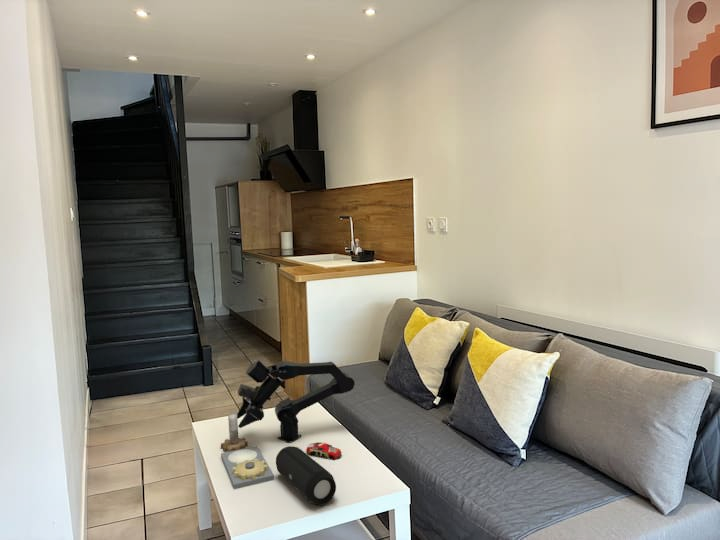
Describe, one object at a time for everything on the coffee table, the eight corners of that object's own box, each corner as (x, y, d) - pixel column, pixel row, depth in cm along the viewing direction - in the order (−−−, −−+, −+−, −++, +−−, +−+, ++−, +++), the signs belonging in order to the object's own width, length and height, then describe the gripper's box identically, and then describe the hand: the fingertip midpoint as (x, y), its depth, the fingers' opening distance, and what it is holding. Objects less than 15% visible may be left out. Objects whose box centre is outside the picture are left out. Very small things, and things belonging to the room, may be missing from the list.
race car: (344, 455, 193) (344, 444, 192) (337, 462, 188) (336, 451, 187) (312, 448, 198) (311, 438, 198) (304, 455, 193) (304, 444, 193)
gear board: (221, 457, 193) (220, 446, 192) (257, 449, 198) (256, 439, 198) (234, 489, 171) (233, 476, 171) (274, 479, 176) (273, 467, 176)
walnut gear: (253, 445, 202) (251, 413, 200) (232, 455, 194) (230, 422, 193) (236, 439, 208) (234, 407, 206) (215, 448, 200) (213, 416, 198)
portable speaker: (274, 476, 178) (272, 448, 177) (300, 468, 184) (299, 440, 182) (310, 512, 157) (308, 480, 156) (339, 501, 162) (338, 470, 161)
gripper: (247, 370, 209) (219, 401, 207) (253, 385, 191) (223, 419, 189) (268, 387, 212) (241, 418, 210) (276, 403, 194) (246, 437, 192)
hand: (237, 422), depth 200 cm, fingers open, 9 cm apart
